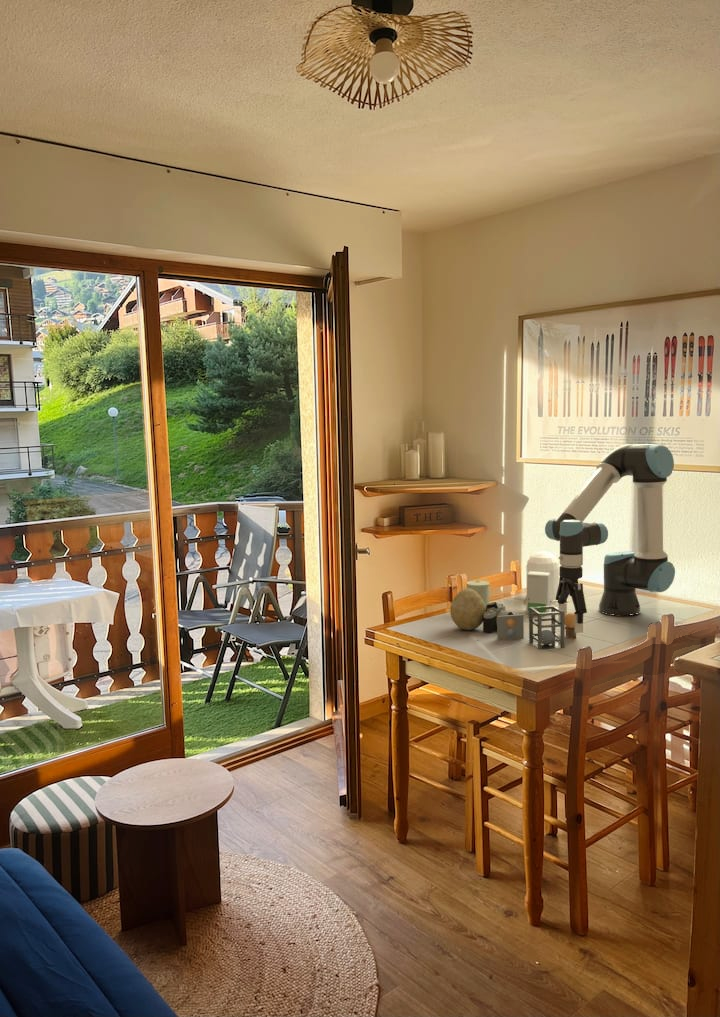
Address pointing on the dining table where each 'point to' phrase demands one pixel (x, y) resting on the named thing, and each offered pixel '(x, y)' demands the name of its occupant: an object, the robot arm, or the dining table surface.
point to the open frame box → (560, 624)
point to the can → (481, 589)
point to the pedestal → (570, 633)
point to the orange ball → (570, 620)
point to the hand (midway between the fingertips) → (570, 627)
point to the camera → (493, 616)
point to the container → (545, 569)
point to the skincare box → (538, 590)
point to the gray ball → (547, 636)
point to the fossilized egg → (467, 609)
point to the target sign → (510, 627)
